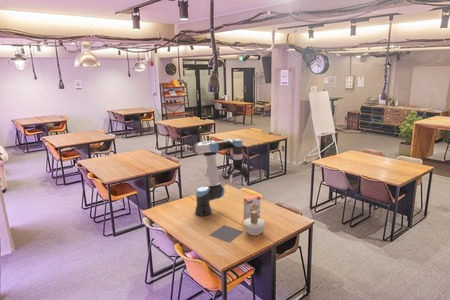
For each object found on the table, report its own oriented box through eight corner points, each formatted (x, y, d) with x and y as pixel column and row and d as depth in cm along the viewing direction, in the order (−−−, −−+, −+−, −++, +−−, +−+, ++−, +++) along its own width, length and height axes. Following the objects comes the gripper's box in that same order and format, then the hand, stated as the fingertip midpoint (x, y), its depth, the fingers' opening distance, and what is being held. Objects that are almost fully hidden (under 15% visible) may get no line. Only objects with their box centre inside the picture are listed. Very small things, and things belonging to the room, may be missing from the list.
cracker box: (247, 223, 262) (247, 200, 257) (243, 220, 267) (243, 197, 262) (260, 218, 270) (260, 196, 264) (256, 216, 275) (256, 194, 269)
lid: (239, 224, 243) (239, 213, 241) (250, 216, 257) (250, 205, 254) (258, 231, 234) (258, 219, 231) (268, 222, 247) (269, 210, 244)
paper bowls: (263, 238, 238) (263, 228, 236) (243, 236, 241) (243, 227, 239) (264, 228, 253) (264, 219, 251) (245, 227, 255) (245, 218, 253)
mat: (208, 235, 244) (208, 235, 244) (223, 225, 259) (223, 224, 259) (229, 243, 232) (229, 242, 232) (244, 232, 248) (244, 231, 248)
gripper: (222, 157, 249) (222, 182, 254) (248, 162, 235) (248, 188, 240) (227, 155, 255) (228, 179, 260) (253, 159, 240) (253, 185, 246)
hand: (238, 183), depth 250 cm, fingers open, 13 cm apart
